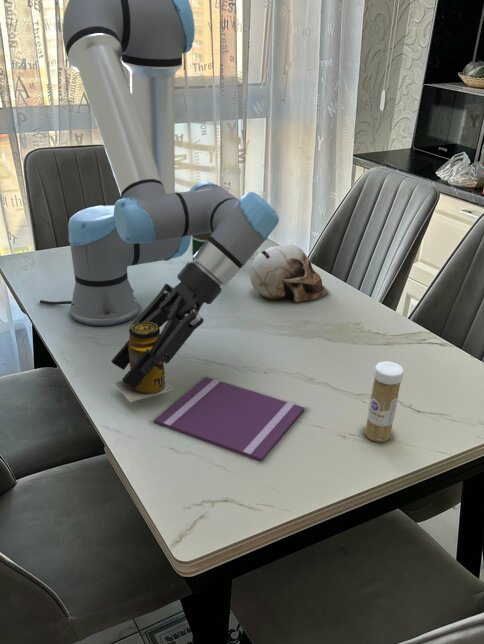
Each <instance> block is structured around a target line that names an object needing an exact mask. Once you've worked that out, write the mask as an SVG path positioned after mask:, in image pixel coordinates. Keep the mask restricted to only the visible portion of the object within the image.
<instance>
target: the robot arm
mask: <svg viewBox="0 0 484 644" xmlns="http://www.w3.org/2000/svg"><path fill="white" fill-rule="evenodd" d="M62 19H63V21H62V40H63V46H64V47H63V48H64V50H65V54H66V56H67V60H68V62H69V65H70V66H71V67H72V69H73V70H75V71H76V72H78V74H79V77H80V80H81V82H82V86H83V88H84V91H85V95H86V97H87V100H88V103H89V106H90V109H91V112H92V115H93V118H94V120H95V124H96V127H97V129H98V132H99V133H98V134H99V135H100V138H101V142H102V144H103V147H104V150H105V153H106V156H107V159H108V162H109V164H110V165H109V166H110V168H111V171H112V174H113V177H114V179H115V182H116V185H117V188H118V191H119V195H120V199H118V200H116V202H115V204H114V205H111V204H110V205H96V206H91V207H87V208H84V209H81V210H79V211H78V212H76V213H74V214H73V215H72V216H71V217H70V218H69V221H68V224H67V226H68V242H69V245H70V253H71V260H72V261H71V262H72V268H73V275H74V281H75V282H74V283H75V284H74V288H73V293H72V300H61V301H50V300H42V299H40V300H39V304H44V305H50V306H51V305H52V306H58V305H59V306H60V305H70V313H71V317H72V318H73V319H74V320H75V321H76V322H78V323H79V324H84V325H87V326H95V327H105V326H106V327H107V326H115V325H119V324H123V323H125V322H128V321H131V320H132V319H134V318H135V317H136V316H137V315H138V313H139V302H138V299H137V298H136V296H135V294H134V293H135V291H134V289H133V287H132V286H131V283H130V281H129V276H128V267H132V266H138V265H143V264H151V263H156V262H162V261H165V262H166V261H170V260H172V259H176V258H180V257H182V256H183V255H184V254H185V253H186V252H187V251H188V249H189V247H190V244H191V242H192V241H191V240H192V235H199V234H205V233H212V235H211V236H210V237H209V238H208V239H207V240H206V241H205V243H204V244H203V245H202V246H201V247H200V249H199V250H198V251H197V252H196V253H195V254H194V256H193V255H192V261H188V262H187V263H186V264H185V265H184V266H183V268H182V269H181V270H180V272H178V274H177V280H179V281H180V282H179V283H178V284H177V285H175V286H174V287H173V286H171V285H169V284H168V283H165V284H164V285H163V287H162V288H161V290H160V291H159V293H158V294H157V295H156V296H155V297H154V298H153V300H152V301H151V302H150V303H149V304H148V305H147V307H146V308H144V310H143V311H142V312H141V313H140V314H139V315H138V316H137V317H136V319H135V320H134V321H133V323H132V325H133V324H135V323H138V322H152V323H156V324H157V325H158V326H159V328H160V329H161V327H162V326H163V325H164V324H165V325H164V326H163V328H162V330H161V331H160V335H159V337H158V338H157V340H156V342H155V343H154V345H153V347H152V348H151V350H148V349H146V351H145V353H144V354H143V355H142V356H141V357H140V359H139V360H138V361H137V362H136V363H135V365H134V366H133V367H132V368H131V369H130V368H129V370H128V372H127V373H125V375H124V376H123V378H122V379H121V381H123V382H125V383H127V384H128V385H130V386H132V387H133V388H136V387H137V385H138V384H139V383H140V382H141V381H142V380H143V378H144V377H145V376H146V375H147V374H148V373H149V372H150V371H151V370H152V369H153V368H154V366H155V365H156V364H157V363H158V362H159V361H162V362H164V364H169V363H170V362H171V360H172V359H173V358H174V357H175V355H176V354H177V353H178V352H179V350H180V349H181V348H182V347H183V345H184V344H185V343H186V341H187V340H188V339H189V338H190V336H191V335H192V334H193V332H194V331H195V330H196V329H197V328H198V327H200V326H201V325H202V324H204V318H203V317H201V315H200V313H199V312H200V310H201V308H202V306H203V304H207V305H211V304H212V303H213V302H214V301H215V300H216V298H217V297H218V296H219V295H220V294H222V289H223V288H222V285H223V286H224V287H225V286H228V284H229V283H230V282H231V281H232V279H233V278H234V277H235V276H236V275H237V273H238V272H239V271H240V270H241V269H242V267H244V265H245V264H246V263H247V262H248V261H249V259H251V258H252V256H253V255H254V254H255V253H256V252H257V250H258V249H259V248H260V247H261V246H262V244H263V243H264V242H265V241H267V240H268V239H269V237H270V235H271V234H272V232H273V231H274V230H275V228H276V227H277V226H278V224H279V222H280V218H279V217H280V216H279V215H278V213H277V211H276V210H275V209H274V208H273V207H272V206H271V205H270V203H268V202H267V201H266V200H265V199H264V198H263V197H262V196H260V195H259V194H258V193H256V192H255V191H247V192H246V193H245V194H243V196H241V197H240V198H238V197H236V196H235V195H233V194H232V193H230V192H229V191H228V190H227V189H225V188H224V187H223V186H221V185H219V184H216V183H214V182H211V181H200V182H198V183H196V184H195V185H194V186H192V187H191V188H190V189H189V190H187V191H180V192H175V191H176V190H175V189H176V188H175V187H176V185H175V184H176V178H175V177H176V175H175V174H176V173H175V171H176V169H175V168H176V167H175V166H176V165H175V162H176V161H175V158H176V157H175V155H176V153H175V151H176V150H175V142H176V141H175V138H176V137H175V136H176V135H175V131H176V130H175V75H176V73H177V72H178V71H179V70H180V69H181V68H182V67H183V55H185V54H187V53H189V52H190V51H191V50H192V49H193V43H194V41H195V19H194V13H193V9H192V6H191V3H190V0H68V1H67V4H66V7H65V10H64V14H63V18H62ZM123 65H124V66H125V67H126V69H127V70H128V71H129V75H130V85H129V82H128V79H127V76H126V73H125V69H124V68H123ZM193 259H194V261H193ZM129 340H130V339H128V340H127V341H126V342H125V343H124V345H123V346H122V348H120V350H119V351H118V352H117V353H116V355H115V356H114V357H113V358H112V359H111V360H110V362H111V364H113V365H114V366H116V367H118V368H119V369H121V370H123V371H124V370H125V369H126V368H127V367H128V366H129V365H130V361H129V350H128V342H129ZM157 350H158V351H157Z"/></svg>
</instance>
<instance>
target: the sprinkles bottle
mask: <svg viewBox="0 0 484 644" xmlns="http://www.w3.org/2000/svg"><path fill="white" fill-rule="evenodd" d="M404 372H405V369H404V368H403V366H402V365H400V364H399V363H396V362H393V361H387V360H386V361H380V362H378V363H377V364H375V367H374V372H373V379H374V380H373V383H372V384H373V385H372V389H371V394H370V401H369V405H368V410H367V418H366V425H365V428H364V435H365V436H366V438H367V439H369V440H371V441H373V442H377V443H379V442H381V443H382V442H386V441H388V440H389V439H390V438H391V436H392V428H393V423H394V419H395V416H396V415H395V414H396V409H397V406H398V405H397V404H398V399H399V393H400V389H401V388H400V387H401V383H402V381H403V379H404Z"/></svg>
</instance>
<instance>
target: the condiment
mask: <svg viewBox="0 0 484 644" xmlns="http://www.w3.org/2000/svg"><path fill="white" fill-rule="evenodd" d="M128 333H129V336H128V338H129V339H130V340H129V339H128V340H129V342H128V350H129V361H130V363H129V370H130V369H131V368H132V367H133V366H134V365H135V363H136V362H137V361H138V360H139V359H140V357H141V356H142V355H143V354H144V353H145V351H146V349H148V350H151V348H152V347H153V345H154V343H155V342H156V340H157V338H158V337H159V335H160V333H161V327H160V328H159V326H158V325H157V324H156V323H152V322H138V323H135V324H133V323H132V324H131V326H130V327H129V329H128ZM157 351H158V350H157ZM165 372H166V371H165V362H162V361H159V362H158V363H157V364H156V365H155V366H154V368H153V369H152V370H151V371H150V372H149V373H148V374H147V375H146V376H145V377H144V378H143V380H142V381H141V382H140V383H139V384H138V385H137V387H136V388H133V387H132V386H130V385H128V384H127V383H125V382H123V380H118V381H115V382H114V385H115V387H116V388H117V389H118V390H119V391H120V392H121V394H122V395H123V396H124V397H125V399H127V400H128V402H129V403H133V402H136V401H140V400H143V399H147V398H150V397H154V396H157V395H160V394H164V393H167V392H170V391H173V390H174V388H173V387H172V386H171V385H170V383H168V381H166V376H165V374H166V373H165Z"/></svg>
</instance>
